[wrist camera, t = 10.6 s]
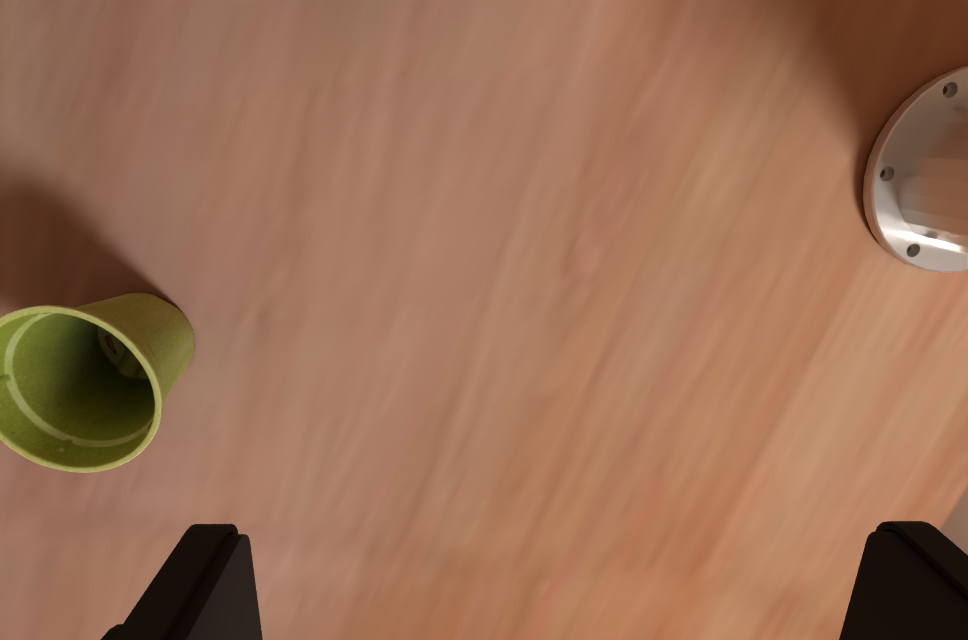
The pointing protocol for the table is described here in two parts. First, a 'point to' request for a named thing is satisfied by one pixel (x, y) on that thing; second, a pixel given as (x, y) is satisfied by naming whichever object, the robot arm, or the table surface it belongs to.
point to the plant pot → (89, 379)
